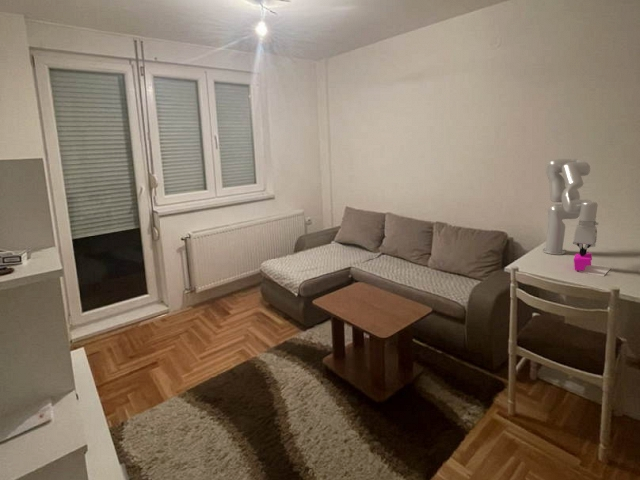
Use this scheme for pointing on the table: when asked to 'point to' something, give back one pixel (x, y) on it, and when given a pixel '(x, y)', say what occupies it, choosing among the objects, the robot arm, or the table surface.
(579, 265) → the toy block
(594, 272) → the mat
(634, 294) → the table surface
